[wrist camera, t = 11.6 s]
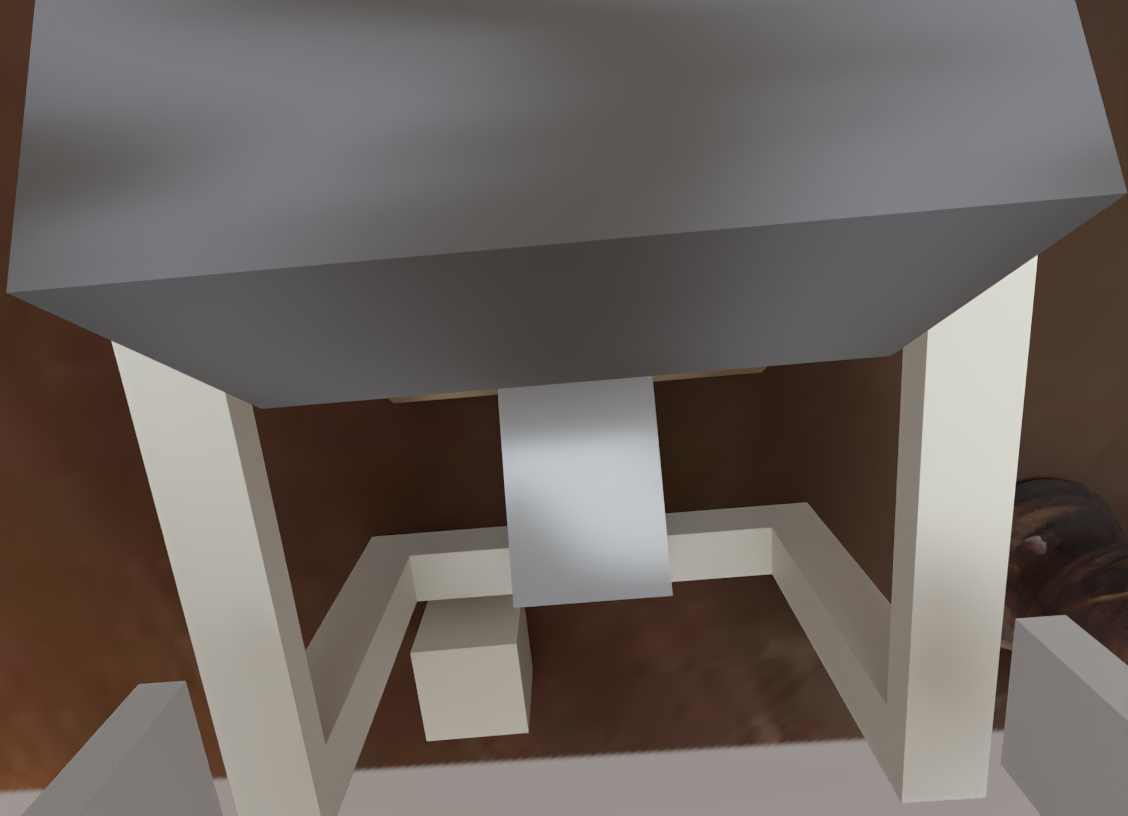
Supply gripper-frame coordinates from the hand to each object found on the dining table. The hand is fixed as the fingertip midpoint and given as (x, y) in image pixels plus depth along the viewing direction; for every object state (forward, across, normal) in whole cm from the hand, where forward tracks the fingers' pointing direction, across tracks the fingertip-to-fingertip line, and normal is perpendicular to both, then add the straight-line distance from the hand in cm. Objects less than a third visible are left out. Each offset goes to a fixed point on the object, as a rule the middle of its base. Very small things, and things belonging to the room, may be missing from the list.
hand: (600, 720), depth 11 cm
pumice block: (+17, -5, -10) cm, 20 cm away
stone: (+15, 0, +2) cm, 15 cm away
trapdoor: (+7, 0, +7) cm, 10 cm away
